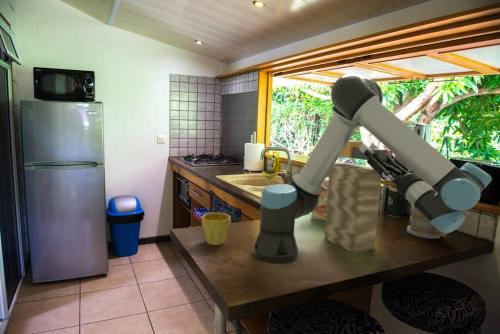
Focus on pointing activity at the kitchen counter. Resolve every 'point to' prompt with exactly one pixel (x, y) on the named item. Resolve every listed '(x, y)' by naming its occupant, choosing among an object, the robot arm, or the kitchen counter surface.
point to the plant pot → (215, 227)
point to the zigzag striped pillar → (352, 206)
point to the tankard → (422, 226)
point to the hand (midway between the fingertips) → (366, 146)
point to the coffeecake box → (322, 202)
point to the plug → (354, 152)
